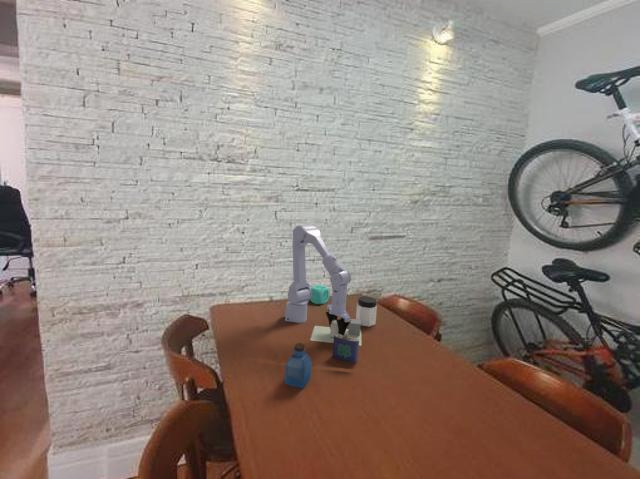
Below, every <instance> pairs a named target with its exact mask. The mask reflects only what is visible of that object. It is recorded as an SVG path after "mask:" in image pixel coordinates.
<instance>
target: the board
mask: <svg viewBox="0 0 640 479" xmlns="http://www.w3.org/2000/svg"><path fill="white" fill-rule="evenodd" d="M345 333H347V334H348V333H349V328H347V329H346V331H345ZM344 335H345V334H344ZM348 337H350V338H356V339H358V340H359V346H360V347H361V346H362V330H361V329H360V336H358V335H348ZM309 341H312V342H321V343H322V342H323V343H330V344H333V343H334V337H332V336H330V326H321V325H314V327H313V329H312V333H311V336H310V338H309Z"/></svg>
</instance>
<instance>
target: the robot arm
mask: <svg viewBox="0 0 640 479" xmlns="http://www.w3.org/2000/svg"><path fill="white" fill-rule="evenodd" d="M308 244H310V245H311V244H312V246H313V248H315V249H316V251H317V252H318V253H319V255H320V257H321V258H322V261H321V262H322V263H321V264H323V266H324V268H325V269H326V271H327V273H328V274H329V276H330V277H329V282H330V284H331V289H332V291H331V304H327V306H326V310H328V311H326V312H325V315H326V318H327V320H328V325H329V326H328V327H330V328H331V323H332V320H336V321H337V324H338V334H340V335H342V336H343V335H344V334H345V331H346V329H348V328H349V323H350V322H351V320H350V319H351V316H350V315H349V313H348V312H347V311H346V307H347V295H348V284H349V283H350V282H351V281H352V280H351V278H352V277H351V273H350V271H349V270H347V269H345V268H344V267H343V266H342V265H341V264H340V262H339V260H338V257H337V256H336V255H334V254H331V252H330V251H329V249H328V247H327V245H326V244H325V242H324V240H323V238H322V236H321V231H320V229H319V226H317V225H316V224H314V223H313V224H308V225H307V224H306V225H296V226H295V228H294V229H292V269H293V270H292V272H293V273H292V274H293V275H292V276H293V280H292V282H291V283H290V285H289V286H288V292H287V299H288V300H287V301H286V305H285V312H284V313H285V318H284V321H285V322H291V323H295V324H296V323H297V324H300V323H301V324H302V323H306V322H307V319H308V317H307V315H308V303H309V300H310V298H311V296H312V293H311V290H310V289H311V285H310V283H309V282H307V278H306V277H307V271H306V270H307V268H306V246H307V245H308ZM338 318H339V319H338Z"/></svg>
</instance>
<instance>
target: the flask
mask: <svg viewBox="0 0 640 479" xmlns="http://www.w3.org/2000/svg"><path fill="white" fill-rule="evenodd" d="M348 335H349V333H348V334H347V333H345V335H343V336H342V335H340V334H336V335H334V343H332V344H333V345H332V357H333V358H334V359H336V360H340V361H344V362H349V363H358V360H359V340H358V339H356V338H350V337H348Z"/></svg>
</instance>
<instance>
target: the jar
mask: <svg viewBox="0 0 640 479" xmlns="http://www.w3.org/2000/svg"><path fill="white" fill-rule="evenodd" d="M357 301H358V302H357V303H356V310H355V311H356V314H355V319H358V320H360V322H361V325H360V326H363V327H368V328H369V327H373V326H375V325H376V322H377V312H378V310H377V309H378V306H377V299H376V298H375V297H373V296H367V295H366V296H365V295H364V296H359V297H358V299H357Z"/></svg>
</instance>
